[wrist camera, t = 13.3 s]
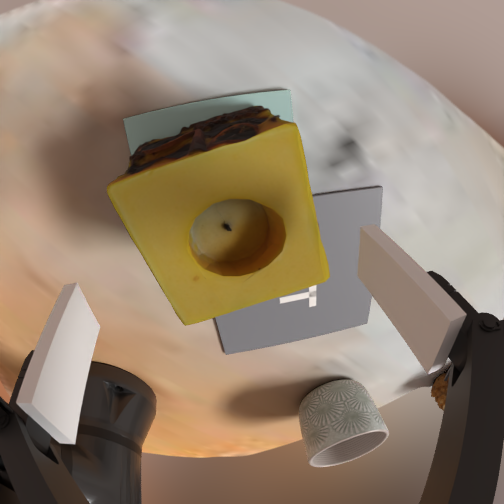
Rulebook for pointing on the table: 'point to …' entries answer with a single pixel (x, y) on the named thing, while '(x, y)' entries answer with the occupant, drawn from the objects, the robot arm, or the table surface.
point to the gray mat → (318, 296)
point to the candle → (224, 213)
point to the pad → (200, 115)
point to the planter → (340, 423)
